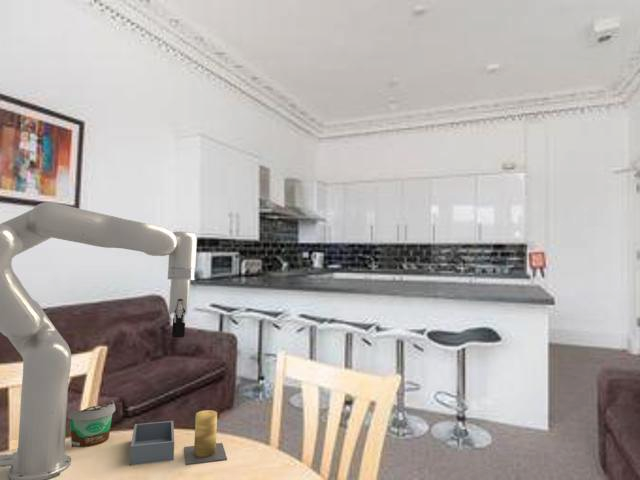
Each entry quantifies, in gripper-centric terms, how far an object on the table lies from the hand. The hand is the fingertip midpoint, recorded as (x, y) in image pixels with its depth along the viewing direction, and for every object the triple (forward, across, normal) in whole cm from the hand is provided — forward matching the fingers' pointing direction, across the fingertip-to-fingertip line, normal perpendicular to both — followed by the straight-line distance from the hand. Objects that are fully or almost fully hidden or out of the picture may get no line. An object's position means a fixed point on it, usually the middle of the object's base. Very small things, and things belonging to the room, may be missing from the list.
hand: (178, 334), depth 123 cm
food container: (+30, -2, -20) cm, 36 cm away
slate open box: (+30, +6, -5) cm, 31 cm away
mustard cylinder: (+29, +12, +8) cm, 32 cm away
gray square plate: (+30, +12, +8) cm, 33 cm away
